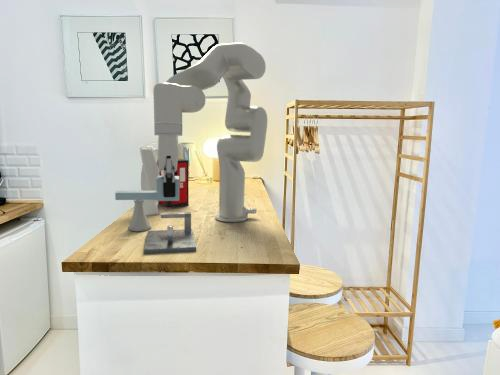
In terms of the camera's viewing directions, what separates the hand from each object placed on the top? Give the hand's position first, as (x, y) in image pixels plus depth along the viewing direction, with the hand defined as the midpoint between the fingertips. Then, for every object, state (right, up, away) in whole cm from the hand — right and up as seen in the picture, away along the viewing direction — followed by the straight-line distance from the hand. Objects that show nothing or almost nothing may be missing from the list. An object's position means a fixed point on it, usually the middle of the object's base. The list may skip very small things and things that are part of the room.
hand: (169, 194), depth 102 cm
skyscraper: (-16, -9, +41) cm, 45 cm away
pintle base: (-1, -15, +6) cm, 16 cm away
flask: (-14, -12, +19) cm, 27 cm away
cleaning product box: (-13, -6, +60) cm, 62 cm away
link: (-6, -1, -1) cm, 6 cm away
